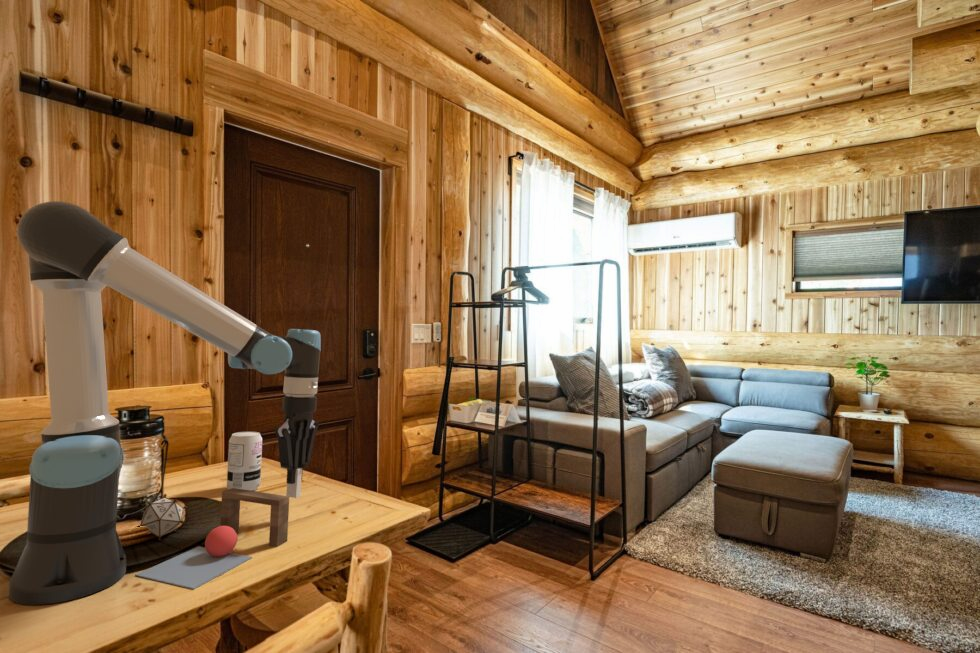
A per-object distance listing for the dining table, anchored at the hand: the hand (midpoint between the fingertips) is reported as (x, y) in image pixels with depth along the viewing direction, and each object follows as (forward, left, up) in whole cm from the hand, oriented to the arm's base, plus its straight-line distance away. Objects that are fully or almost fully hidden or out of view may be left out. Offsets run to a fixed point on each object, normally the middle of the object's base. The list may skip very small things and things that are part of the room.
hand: (293, 496), depth 118 cm
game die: (-19, +18, -5) cm, 26 cm away
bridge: (-13, 0, -5) cm, 14 cm away
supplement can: (+13, +27, -5) cm, 30 cm away
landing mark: (-27, 0, -5) cm, 27 cm away
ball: (-21, -1, -2) cm, 22 cm away
